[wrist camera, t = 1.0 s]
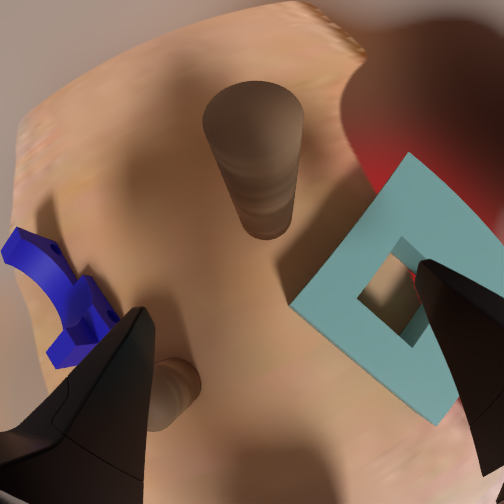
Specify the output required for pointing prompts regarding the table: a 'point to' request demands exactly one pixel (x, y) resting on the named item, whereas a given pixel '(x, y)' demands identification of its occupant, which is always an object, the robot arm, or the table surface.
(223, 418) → the table surface
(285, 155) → the tall walnut pin
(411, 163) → the teal hole plate
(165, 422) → the short walnut pin
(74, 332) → the cable clip
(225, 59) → the table surface
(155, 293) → the table surface
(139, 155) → the table surface
